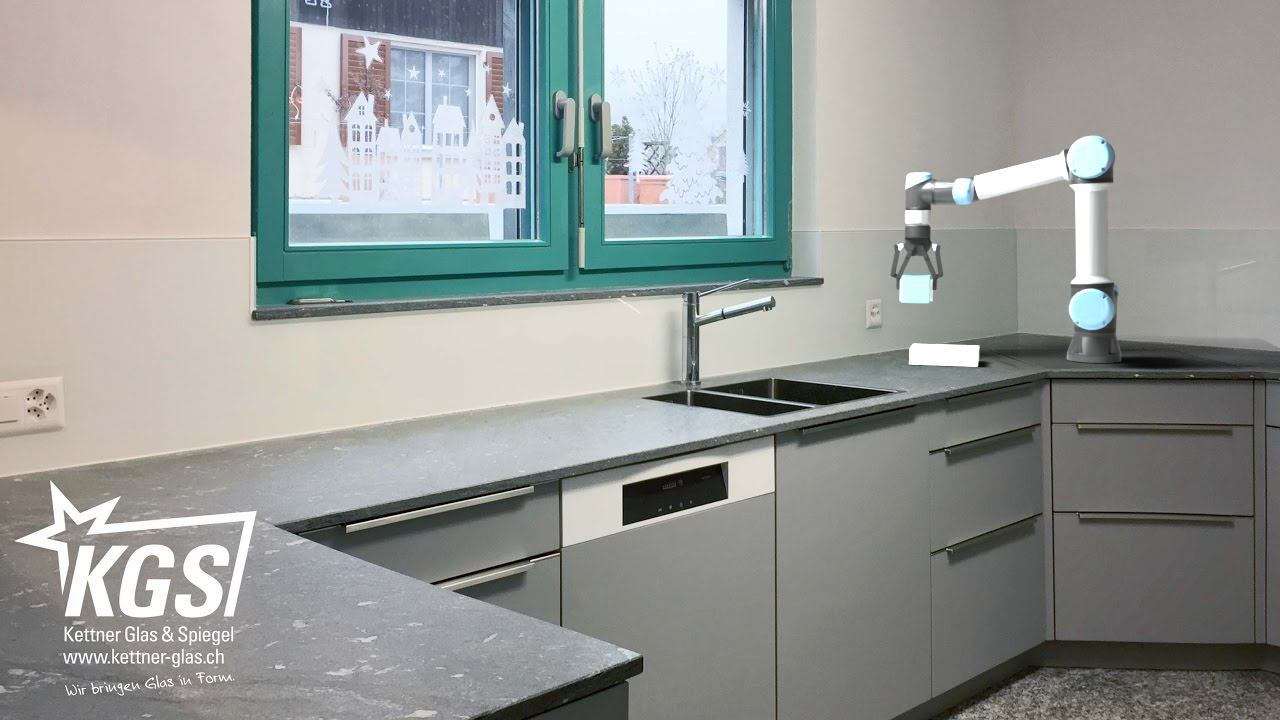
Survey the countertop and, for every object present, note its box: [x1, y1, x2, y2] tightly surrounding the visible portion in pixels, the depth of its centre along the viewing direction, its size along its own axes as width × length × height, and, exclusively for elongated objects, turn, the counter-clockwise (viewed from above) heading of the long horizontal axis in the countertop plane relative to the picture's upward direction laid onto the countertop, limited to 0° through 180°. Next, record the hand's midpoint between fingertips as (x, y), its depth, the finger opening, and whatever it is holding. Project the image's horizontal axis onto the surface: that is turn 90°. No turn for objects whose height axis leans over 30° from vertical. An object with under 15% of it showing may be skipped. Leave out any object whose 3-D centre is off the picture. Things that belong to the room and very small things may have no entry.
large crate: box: [908, 343, 980, 368], centre depth 352 cm, size 19×14×4 cm
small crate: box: [900, 274, 932, 304], centre depth 364 cm, size 8×8×8 cm
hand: (916, 300), depth 364 cm, fingers closed on small crate, 8 cm apart
